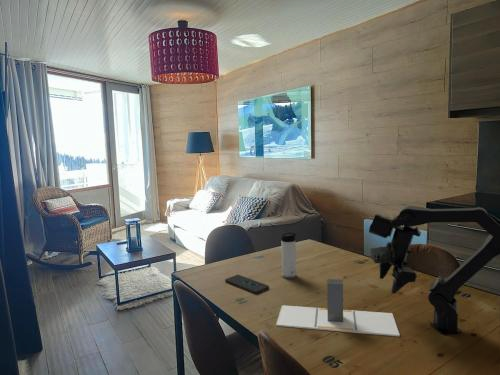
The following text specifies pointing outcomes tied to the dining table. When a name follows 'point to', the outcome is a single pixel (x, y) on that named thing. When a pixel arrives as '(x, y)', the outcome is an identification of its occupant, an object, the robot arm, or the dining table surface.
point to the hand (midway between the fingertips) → (386, 285)
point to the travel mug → (288, 255)
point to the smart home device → (247, 284)
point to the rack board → (351, 322)
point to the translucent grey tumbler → (335, 300)
